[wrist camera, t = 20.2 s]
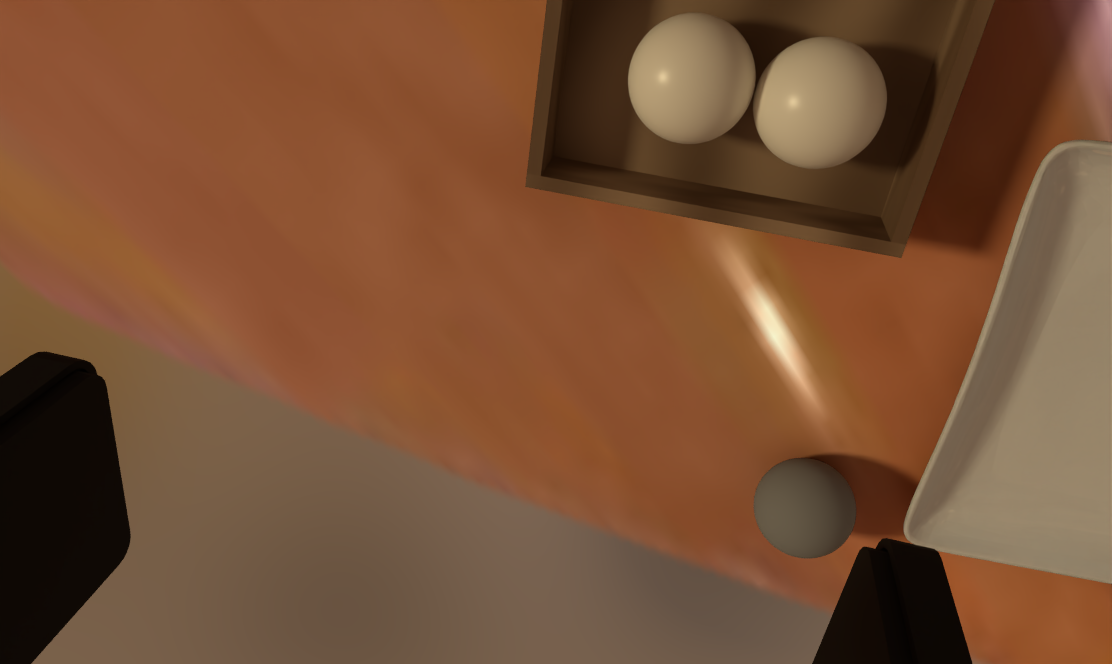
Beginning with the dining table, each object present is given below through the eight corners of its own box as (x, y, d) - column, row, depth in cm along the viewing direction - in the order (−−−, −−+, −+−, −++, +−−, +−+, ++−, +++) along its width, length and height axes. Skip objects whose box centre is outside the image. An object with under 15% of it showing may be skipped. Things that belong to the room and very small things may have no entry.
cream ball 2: (905, 40, 33) (905, 63, 29) (866, 161, 36) (861, 198, 32) (779, 16, 35) (762, 36, 30) (749, 135, 37) (730, 168, 33)
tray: (980, -37, 33) (1004, -27, 30) (888, 227, 38) (901, 257, 35) (573, -99, 34) (557, -96, 31) (541, 162, 40) (525, 186, 37)
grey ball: (862, 450, 44) (876, 513, 40) (834, 522, 46) (844, 589, 42) (765, 429, 44) (768, 490, 40) (743, 502, 47) (743, 566, 42)
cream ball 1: (695, 120, 38) (763, 160, 34) (597, 122, 36) (658, 164, 32) (720, 2, 35) (797, 31, 32) (616, -3, 33) (686, 27, 29)
